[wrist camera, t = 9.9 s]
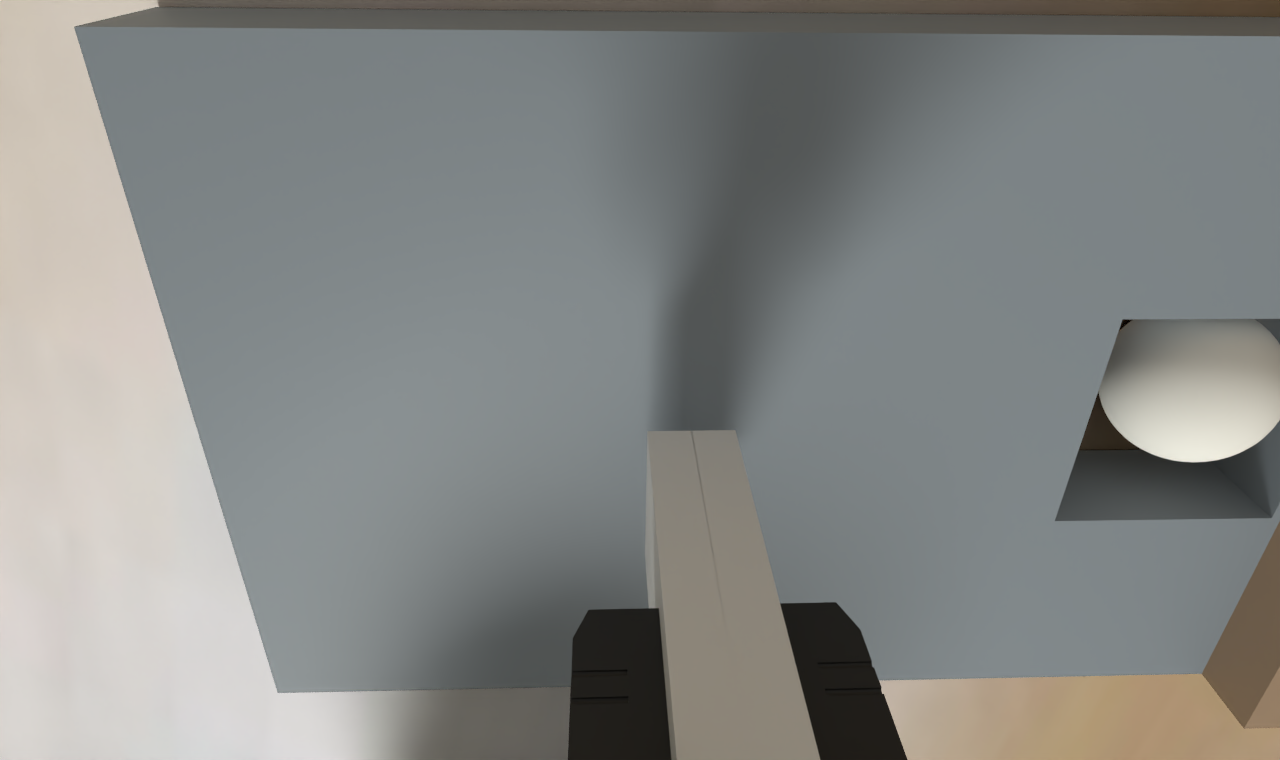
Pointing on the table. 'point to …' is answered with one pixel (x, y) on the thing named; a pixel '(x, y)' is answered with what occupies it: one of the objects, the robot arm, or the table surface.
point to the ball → (1193, 386)
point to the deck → (707, 321)
